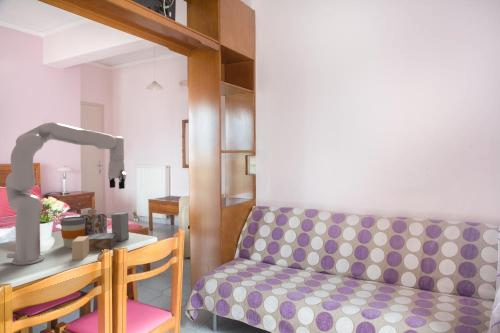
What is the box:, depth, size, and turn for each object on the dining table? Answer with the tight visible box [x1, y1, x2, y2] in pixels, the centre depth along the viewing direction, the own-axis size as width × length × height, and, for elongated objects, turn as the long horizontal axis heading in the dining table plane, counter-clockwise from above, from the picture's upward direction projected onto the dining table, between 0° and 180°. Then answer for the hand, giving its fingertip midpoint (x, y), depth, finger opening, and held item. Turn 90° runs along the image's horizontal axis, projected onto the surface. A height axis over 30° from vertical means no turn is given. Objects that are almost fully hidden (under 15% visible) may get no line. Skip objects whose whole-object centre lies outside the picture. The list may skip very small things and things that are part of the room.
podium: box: [86, 232, 117, 251], centre depth 182 cm, size 15×13×6 cm
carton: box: [71, 236, 90, 261], centre depth 164 cm, size 10×5×9 cm, turn 12°
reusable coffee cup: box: [60, 216, 86, 249], centre depth 185 cm, size 13×13×15 cm
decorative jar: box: [78, 208, 108, 236], centre depth 198 cm, size 12×12×18 cm
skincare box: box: [111, 212, 130, 242], centre depth 198 cm, size 8×7×16 cm
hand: (117, 188), depth 191 cm, fingers open, 9 cm apart
